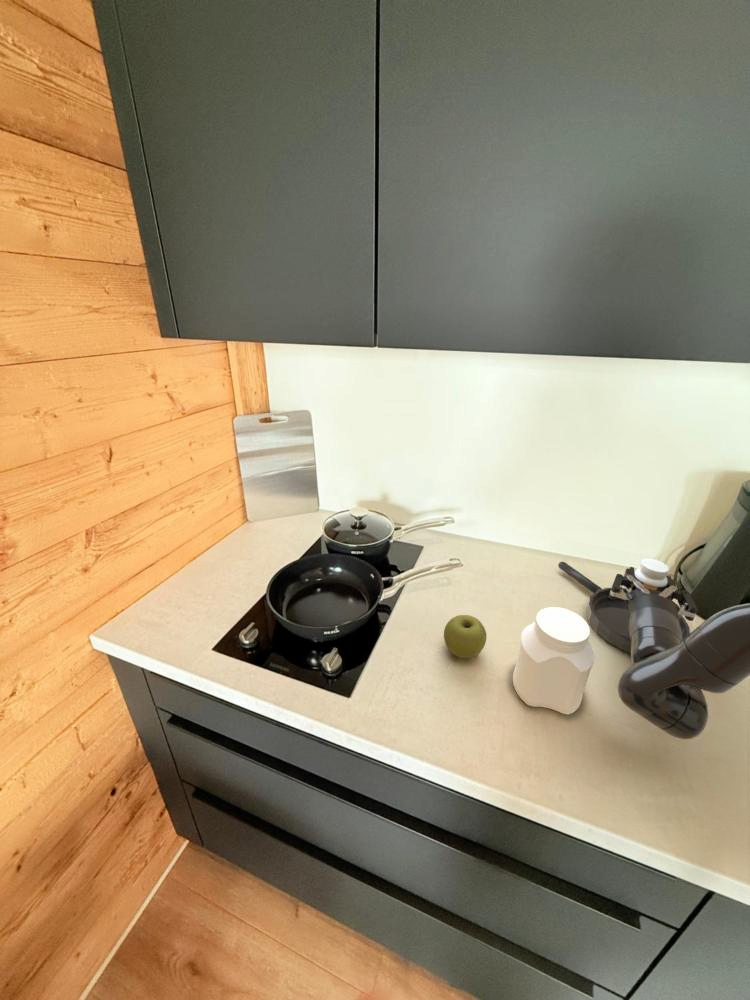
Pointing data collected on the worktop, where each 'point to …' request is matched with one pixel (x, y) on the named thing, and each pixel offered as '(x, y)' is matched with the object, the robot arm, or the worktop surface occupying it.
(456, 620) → the apple
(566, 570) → the pan handle
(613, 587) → the robot arm
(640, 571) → the pill bottle
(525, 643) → the jar
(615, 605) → the pan
